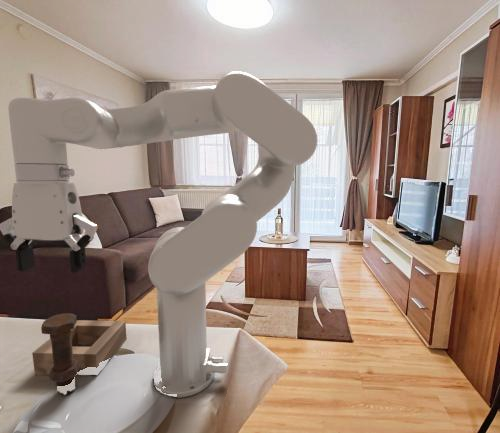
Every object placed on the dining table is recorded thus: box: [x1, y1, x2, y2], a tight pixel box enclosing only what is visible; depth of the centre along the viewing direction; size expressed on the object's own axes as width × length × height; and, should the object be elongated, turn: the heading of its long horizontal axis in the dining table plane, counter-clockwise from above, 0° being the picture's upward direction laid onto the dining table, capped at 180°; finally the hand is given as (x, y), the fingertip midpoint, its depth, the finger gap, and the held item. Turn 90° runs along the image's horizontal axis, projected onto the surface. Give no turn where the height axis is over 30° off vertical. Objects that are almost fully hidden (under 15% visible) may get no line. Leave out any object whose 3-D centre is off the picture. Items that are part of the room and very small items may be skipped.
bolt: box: [40, 312, 79, 388], centre depth 56 cm, size 6×5×15 cm
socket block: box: [31, 319, 127, 376], centre depth 67 cm, size 14×14×5 cm
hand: (52, 269), depth 53 cm, fingers open, 9 cm apart
